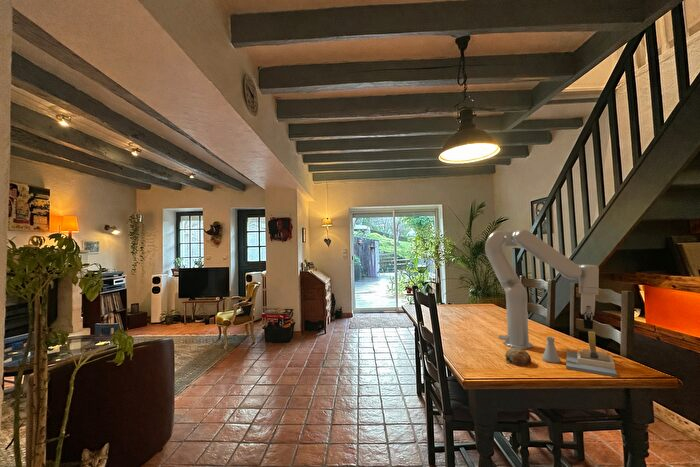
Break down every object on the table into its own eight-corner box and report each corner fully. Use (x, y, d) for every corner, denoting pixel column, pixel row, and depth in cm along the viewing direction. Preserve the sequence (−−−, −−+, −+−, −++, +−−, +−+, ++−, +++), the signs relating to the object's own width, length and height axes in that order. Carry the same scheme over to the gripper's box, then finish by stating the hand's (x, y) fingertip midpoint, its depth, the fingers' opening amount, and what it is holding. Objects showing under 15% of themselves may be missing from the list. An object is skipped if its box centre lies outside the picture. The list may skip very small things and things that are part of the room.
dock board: (566, 368, 130) (565, 359, 130) (567, 352, 150) (566, 344, 150) (617, 377, 121) (616, 366, 121) (610, 358, 141) (610, 350, 141)
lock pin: (590, 356, 139) (589, 338, 140) (589, 348, 151) (588, 331, 152) (597, 357, 138) (596, 339, 138) (595, 349, 150) (594, 331, 150)
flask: (564, 364, 135) (563, 340, 136) (545, 363, 137) (544, 339, 137) (557, 358, 142) (555, 335, 143) (539, 357, 144) (538, 335, 145)
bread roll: (503, 368, 142) (497, 352, 141) (518, 355, 146) (511, 340, 145) (523, 376, 133) (517, 359, 132) (538, 361, 137) (532, 345, 136)
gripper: (578, 288, 160) (577, 322, 160) (579, 291, 146) (578, 328, 146) (597, 289, 156) (596, 324, 156) (599, 293, 142) (599, 332, 141)
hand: (587, 326), depth 151 cm, fingers open, 9 cm apart
